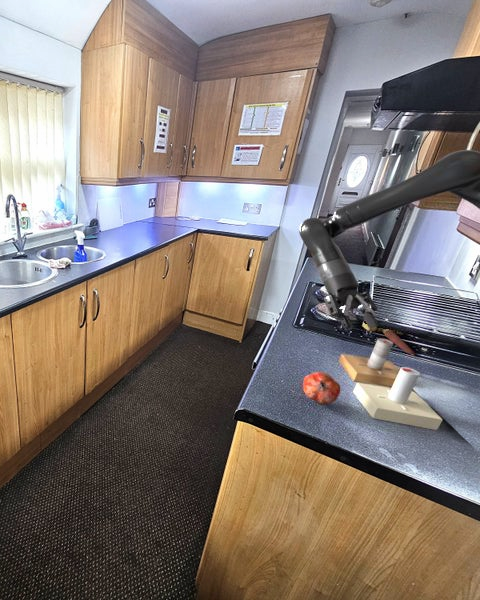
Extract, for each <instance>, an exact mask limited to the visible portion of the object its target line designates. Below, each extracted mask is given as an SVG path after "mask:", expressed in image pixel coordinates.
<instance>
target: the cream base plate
mask: <svg viewBox="0 0 480 600" xmlns="http://www.w3.org/2000/svg"><path fill="white" fill-rule="evenodd" d="M355 384H356V385H355V387H354V389H353V394H354V395H355V396H356V398H357V399H358V400H359V402H360V403H361V405H362V406H363V407H364V409H365V410H366V411H367V412H368V414H369V416H370V417H371V418H372V419H375V420H381V421H385V422H391V423H396V424H401V425H407V426H412V427H417V428H423V429H427V430H433V431H438V429H439V428H440V425H441V424H442V422H443V420H444V419H443V418H442V417H441V416H440V415H439V414H438V413H436V411H435V410H433V408H432V407H430V405H429V404H427V403H426V402H425V401H424V400H423V399H422V398H421V397H420V396H419V394H418V393H416V391H412V392H411V394H410V396H409V398H408V400H407V402H406V403H405V404H400V403H396V402H394V401H392V400H390V399H389V398H388V395H389V393H390V391H391V388H392V387H386V386H379V385H373V384H366V383H360V382H356V383H355Z"/></svg>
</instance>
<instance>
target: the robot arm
mask: <svg viewBox="0 0 480 600" xmlns="http://www.w3.org/2000/svg"><path fill="white" fill-rule="evenodd" d="M447 192H448V193H450V194H452V195H455V196H456V197H459V198H460V199H463V200H464V201H466V202H468V203H470V204H472V205H473V206H474V207H476V208H477V209H478V210H480V151H477V150H474V149H461V150H457V151H454V152H450V153H447V154H446V155H444V156H442V157H440V158H439V159H438V160H437V161H436V162H435V163H433V164H432V165H430V166H429V167H427V168H425V169H423V170H421V171H420V172H418V173H417V174H414V175H413V176H410V177H408V178H406V179H404V180H402V181H400V182H398V183H396V184H393V185H391V186H389V187H387V188H383V189H382V190H379V191H376V192H373V193H370V194H368V195H366V196H363V197H361V198H359V199H357V200H354V201H352V202H350V203H347V204H345V205H343V206H341V207H339V208H338V209H336V210H335V211H334V213H333V215H331V216H329V217H328V218H326V219H324V220H323V219H321V218H319V217H309V218H306V219H305V220H303V221H302V222H301V223H300V225H299V227H298V234H299V237H300V238H301V240H302V243H304V246H305V247H306V248H307V249H308V251H309V253H310V255H311V256H312V259H313V261H314V264H315V266H316V268H317V271H318V275H319V277H320V279H321V281H322V283H323V285H324V288H325V290H326V292H327V294H328V295H327V296H326V297H324V298H323V300H324V303H325V305H326V307H327V310H328V312H329V315H330V316H331V317H336V318H337V319H339V322H340V324H341V327H342V328H343V329H344V331H350V330H353V329H354V328H355V326H354V324H353V322H352V320H351V318H350V315H348V314H349V310H354V311H355V312H358V313H359V314H361V315H362V316H363V320H364V321H366V323H367V325H368V327H369V328H373V327H376V326H378V324H377V321H378V320H377V319H376V317H375V315H374V312H377V311H378V307H377V305H376V304H375V302H374V300H373V298H372V296H371V295H370V293H369V292H368V291H365V292H362V293H361V292H359V291H358V288H359V287H360V284H359V282H358V280H357V278H356V276H355V274H354V273H353V271H352V268H351V266H350V264H349V263H348V262H347V260H346V258H345V257H344V255H343V253H342V251H341V249H340V247H339V245H337V244H336V243H335V242H334V241H333V239H334V238H336V237H338V236H340V235H342V234H344V233H345V232H347V231H349V230H350V229H353V228H356V227H358V226H361V225H363V224H366V223H369V222H371V221H373V220H375V219H378V218H380V217H383V216H384V215H387V214H389V213H391V212H393V211H396V210H398V209H400V208H402V207H405V206H408V205H410V204H412V203H415V202H418V201H420V200H424V199H427V198H429V197H433V196H436V195H437V196H438V195H439V194H444V193H447Z"/></svg>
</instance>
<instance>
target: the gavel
mask: <svg viewBox="0 0 480 600" xmlns="http://www.w3.org/2000/svg"><path fill="white" fill-rule="evenodd" d="M362 327H363V328H364V330H366V331H368V332H378V333H379V332H380V333H383V334H384V336H385V337H386V338H387V339H388V340H389V341H391V342H393V344H395V345H396V346H397V347H399V348H400V349H401V350H402V351H404V352H405V353H407V354H409V355H411V356H415V351H414V350H412V348H411V347H410V346H409V345H408V344H407V343H406V342H405V341H404V340H403V339H402V338H401V337H399V335H400V336H401V335H403V334H404V333H401V332H398V331H395V330H391V329H390V330H389V329H383V328H377V326H376V327H373V328H369V327H368V325H367V324H365V323H364V321H363V322H362Z"/></svg>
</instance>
